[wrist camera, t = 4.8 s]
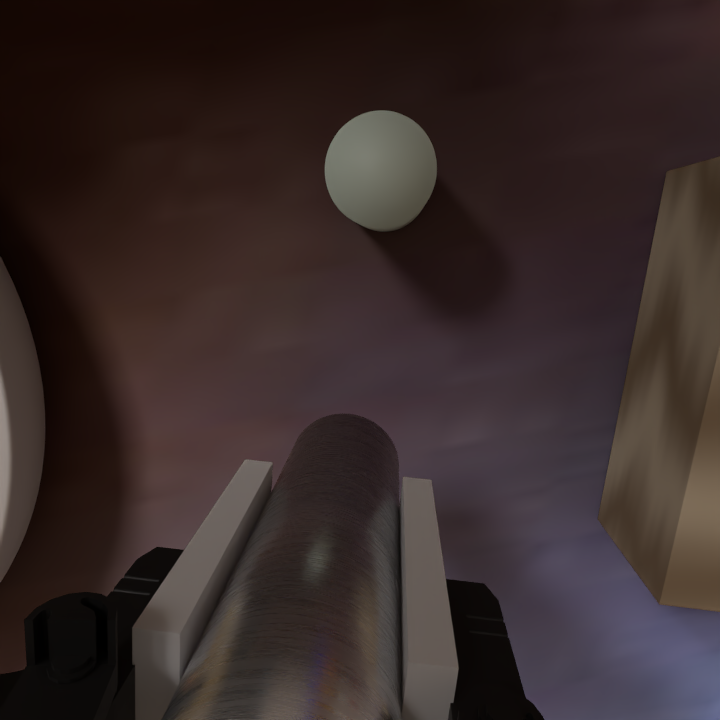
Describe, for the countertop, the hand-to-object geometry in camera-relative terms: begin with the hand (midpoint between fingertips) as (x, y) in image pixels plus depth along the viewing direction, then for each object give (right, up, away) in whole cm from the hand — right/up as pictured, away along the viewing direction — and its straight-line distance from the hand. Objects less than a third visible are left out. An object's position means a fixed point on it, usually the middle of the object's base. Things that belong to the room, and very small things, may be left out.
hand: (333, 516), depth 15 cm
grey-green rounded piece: (+2, +11, +8) cm, 14 cm away
